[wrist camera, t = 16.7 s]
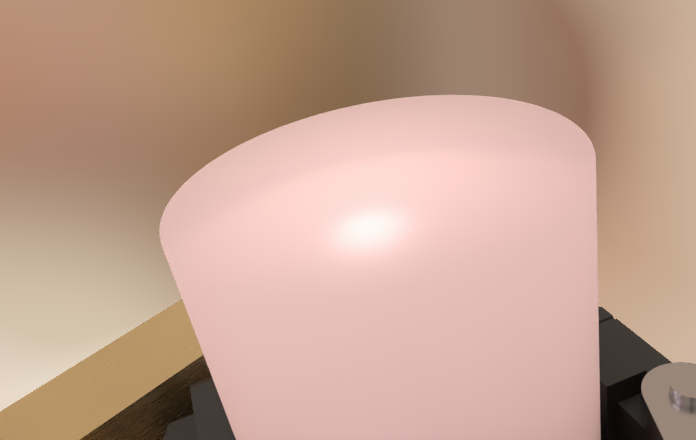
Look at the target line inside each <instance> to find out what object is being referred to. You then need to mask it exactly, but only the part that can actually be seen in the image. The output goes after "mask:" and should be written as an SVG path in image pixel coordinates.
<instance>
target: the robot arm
mask: <svg viewBox="0 0 696 440" xmlns="http://www.w3.org/2000/svg"><path fill="white" fill-rule="evenodd" d="M598 315H599V370H600V426H601V440H696V364H693V363H683V362H678V363H672V362H670V361H669V360H668V359H666V358H665V357H664V356H663V355H661V354H660V353H659V352H658V351H656V350H655V349H654V348H653V347H651V346H650V345H649V344H648V343H646V342H645V341H644V340H643V339H641V338H640V337H639V336H637V335H636V334H635V333H634V332H633V331H631V330H630V329H629V328H627V327H626V326H625V325H624V324H622V323H621V322H620V321H619V320H617V319H614V318H613V316H612V315H611V314H610V313H609V312H607V311H606V310H605V309H603V308H602V307H599V306H598ZM190 392H191V399H192V405H193V411H194V414H192V415H190V416H187V417H184V418H182V419H179V420H176V421H174V422H171V423H169V425H168V427H167V430H166V432H165V435H164V438H163V440H236V438H235V436H234V433H233V431H232V428H231V425H230V423H229V420H228V418H227V415H226V412H225V410H224V407H223V405H222V402H221V399H220V397H219V394H218V391H217V389H216V386H215V384H214V381H213V378H212V377H210V378H208V379H205V380H202V381H199V382H197V383H194V384H191V385H190Z"/></svg>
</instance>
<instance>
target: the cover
mask: <svg viewBox="0 0 696 440" xmlns="http://www.w3.org/2000/svg"><path fill="white" fill-rule="evenodd" d="M596 207H597V204H596V154H595V151H594V148H593V145H592V142H591V141H590V139H589V138H588V137H587V135H586V134H585V132H584V131H583V130H581V129H580V128H579V127H578V126H577V125H576V124H575V123H573V122H572V121H570V120H569V119H567V118H565V117H564V116H562V115H560V114H558V113H555V112H553V111H551V110H548V109H546V108H543V107H540V106H536V105H533V104H530V103H526V102H520V101H516V100H510V99H504V98H497V97H488V96H473V95H435V96H434V95H433V96H418V97H406V98H398V99H391V100H383V101H377V102H371V103H365V104H360V105H355V106H351V107H346V108H341V109H337V110H333V111H330V112H326V113H322V114H318V115H315V116H312V117H308V118H305V119H302V120H299V121H296V122H293V123H290V124H287V125H285V126H282V127H279V128H277V129H274V130H272V131H269V132H267V133H264V134H262V135H260V136H257V137H255V138H253V139H251V140H249V141H247V142H245V143H243V144H241V145H239V146H237V147H235V148H233V149H231V150H230V151H228V152H226V153H224V154H223V155H221V156H220V157H218V158H216V159H215V160H213V161H212V162H210V163H209V164H207V165H206V166H205V167H203V168H202V169H201V170H199V171H198V172H197V173H195V174H194V175H193V176H192V177H191V178H190V179H189V180H188V181H186V182H185V183H184V184H183V185H182V186H181V188H180V189H179V190H178V191H177V192H176V193H175V195H174V196H173V197H172V199H171V200H170V202H169V204H168V205H167V206H166V208H165V211H164V213H163V216H162V219H161V222H160V231H159V235H160V240H161V245H162V248H163V250H164V253H165V255H166V258H167V261H168V263H169V266H170V268H171V271H172V274H173V276H174V279H175V282H176V284H177V287H178V289H179V292H180V295H181V297H182V300H183V303H184V305H185V308H186V310H187V313H188V316H189V318H190V321H191V323H192V326H193V329H194V331H195V334H196V337H197V339H198V342H199V344H200V347H201V350H202V352H203V355H204V357H205V360H206V363H207V365H208V368H209V371H210V373H211V376H212V378H213V381H214V384H215V386H216V389H217V391H218V394H219V397H220V399H221V402H222V405H223V407H224V410H225V412H226V415H227V418H228V420H229V423H230V425H231V428H232V431H233V433H234V436H235V438H236V440H601V426H600V370H599V315H598V263H597V208H596Z"/></svg>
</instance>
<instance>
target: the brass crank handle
mask: <svg viewBox="0 0 696 440" xmlns="http://www.w3.org/2000/svg"><path fill="white" fill-rule="evenodd" d="M210 377H212V376H211V373H210V371H209V368H208V365H207V363H206V360H205V357H204V355H203V352H202V350H201V347H200V344H199V342H198V339H197V337H196V334H195V331H194V329H193V326H192V323H191V321H190V318H189V316H188V313H187V310H186V308H185V305H184V303H183V300H182V299H181V300H180V301H178V302H176V303H175V304H173V305H172V306H170V307H168V308H167V309H165V310H164V311H162V312H160V313H159V314H157V315H155V316H154V317H152V318H151V319H149V320H148V321H146V322H144V323H143V324H141V325H140V326H138V327H136V328H134V329H133V330H131V331H130V332H128V333H127V334H125V335H123V336H122V337H120V338H119V339H117V340H115V341H114V342H112V343H110V344H109V345H107V346H105V347H104V348H102V349H101V350H99V351H98V352H96V353H94V354H93V355H91V356H89V357H88V358H86V359H85V360H83V361H81V362H80V363H78V364H76V365H75V366H73V367H72V368H70V369H68V370H67V371H65V372H63V373H62V374H60V375H59V376H57V377H56V378H54V379H52V380H51V381H49V382H47V383H46V384H44V385H43V386H41V387H39V388H38V389H36V390H35V391H33V392H31V393H30V394H28V395H26V396H25V397H23V398H22V399H20V400H18V401H17V402H15V403H13V404H12V405H10V406H9V407H7V408H5V409H4V410H2V411H1V412H0V440H163V438H164V435H165V432H166V430H167V427H168V425H169V423H171V422H174V421H176V420H179V419H182V418H184V417H187V416H190V415H192V414H194V411H193V405H192V399H191V392H190V385H191V384H194V383H197V382H199V381H202V380H205V379H208V378H210Z"/></svg>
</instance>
